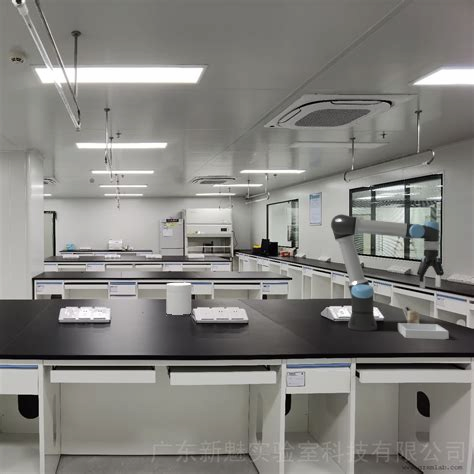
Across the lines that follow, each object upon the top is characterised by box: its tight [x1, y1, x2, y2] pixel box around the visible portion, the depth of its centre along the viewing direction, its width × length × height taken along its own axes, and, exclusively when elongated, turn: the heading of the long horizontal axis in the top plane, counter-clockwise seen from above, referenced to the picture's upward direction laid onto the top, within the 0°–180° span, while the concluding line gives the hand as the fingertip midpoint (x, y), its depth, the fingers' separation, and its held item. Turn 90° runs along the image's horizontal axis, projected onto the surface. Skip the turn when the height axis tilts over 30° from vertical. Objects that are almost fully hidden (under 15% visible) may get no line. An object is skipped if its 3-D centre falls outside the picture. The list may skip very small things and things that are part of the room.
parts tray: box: [397, 322, 450, 340], centre depth 220 cm, size 20×18×4 cm
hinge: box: [402, 306, 413, 320], centre depth 257 cm, size 17×5×10 cm, turn 166°
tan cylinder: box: [406, 310, 420, 324], centre depth 238 cm, size 5×5×9 cm
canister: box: [165, 282, 192, 315], centre depth 278 cm, size 16×16×20 cm
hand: (430, 287), depth 240 cm, fingers open, 13 cm apart
